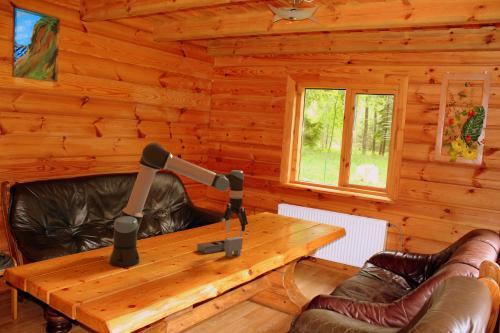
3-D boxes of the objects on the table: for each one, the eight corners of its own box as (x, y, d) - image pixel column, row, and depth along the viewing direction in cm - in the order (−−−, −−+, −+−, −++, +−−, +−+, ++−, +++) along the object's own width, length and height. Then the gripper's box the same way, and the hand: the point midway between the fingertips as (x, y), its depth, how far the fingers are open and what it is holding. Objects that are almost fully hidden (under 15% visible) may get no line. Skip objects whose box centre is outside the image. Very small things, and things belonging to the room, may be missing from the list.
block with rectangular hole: (204, 254, 250) (204, 247, 250) (196, 250, 256) (197, 243, 256) (239, 248, 267) (240, 241, 266) (231, 244, 273) (232, 238, 273)
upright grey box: (227, 257, 246) (228, 240, 245) (223, 255, 249) (224, 238, 248) (241, 255, 253) (242, 238, 252) (237, 253, 256) (238, 236, 255)
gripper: (255, 200, 241) (253, 237, 243) (228, 193, 260) (226, 228, 262) (244, 201, 236) (243, 239, 238) (218, 194, 255) (216, 229, 257)
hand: (234, 233), depth 250 cm, fingers open, 13 cm apart
